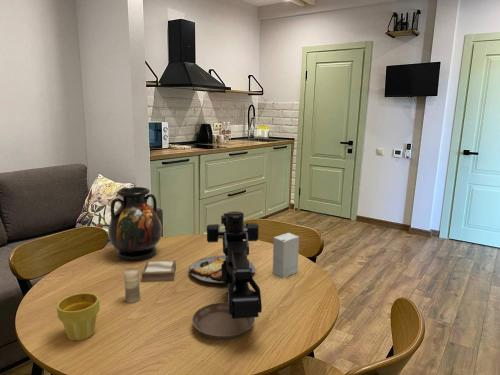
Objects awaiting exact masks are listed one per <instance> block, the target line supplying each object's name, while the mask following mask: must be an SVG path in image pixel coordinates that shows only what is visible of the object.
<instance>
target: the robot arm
mask: <svg viewBox="0 0 500 375" xmlns="http://www.w3.org/2000/svg"><path fill="white" fill-rule="evenodd" d="M244 215H245V214H244V212H242V211H228V212H225V213H223V215H221V216H220V223H221V225H223V226H224V231H220V230H221V229H220V228H221V226H220V224H217V223H216V224H207V226H206V241H207V243H218V242H219V239H222V253H223V254H224V255H225V256H226V257H225V259H226V260H223V264H222V265H221V269H222V281H223V282H224V283H223V284H224V285H225V284H227V283H228V284H227V291H226V292H225V294H226V295H225V296H226V303H228V304H229V314H231V315H232V318H233V319H237V318H259V317H260V316H259V315H260V313H262V308H263V306H262V296H261V295H262V294H261V289H260V287H259V286H258V284H257V283H256V281H255V279H254V276H253V273H252V268H249V261H250V260H249V259H248V256H249V255H250V243H249V242H257V241H258V240H259V230H260V229H259V225H258V224H257V223H245V224H244V220H245V218H244V217H245V216H244ZM249 285H250V286H251V288H252V289H253V290H252V289H250V287H249Z"/></svg>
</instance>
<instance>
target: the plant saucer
mask: <svg viewBox="0 0 500 375" xmlns="http://www.w3.org/2000/svg"><path fill="white" fill-rule="evenodd" d="M255 318H256V317H255ZM255 318H237V319H233V318H232V315H231V314H229V304H228V302H215V303H211V304H207V305H205V306H203V307H200V308H199V309H197V311H196V312H195V313H194V314H193V315H192V319H191V320H192V325H193V327H194V328H195V330H197V332H199V334H201V335H202V336H203V337H205V338H208V339H209V340H212V341H217V342H218V341H220V342H221V341H222V342H227V341H232V340H233V341H234V340H236V339H238V338H240V337H243V336H244V335H245V334H246V333H248V331H250V329H251V328H252V327H253V326H254V323H255V320H256V319H255Z"/></svg>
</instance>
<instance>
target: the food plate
mask: <svg viewBox="0 0 500 375" xmlns="http://www.w3.org/2000/svg"><path fill="white" fill-rule="evenodd" d="M225 257H226V256H225V254H224V255H222V254H221V255H213V256H206V257H203V258H201V259H199V260H197V261H195V262H194V263H192V264H191V265H189V268H188V274H190V276H191V277H193V278H195V279H197V280H199V281H201V282H204V283H215V284H224V282H223V281H222V269H221V265H222V264H223V260H226V259H225ZM249 268H252V274H253V273H255V272H256V267H255V266H254V263H252V262H251V261H250V260H249ZM226 284H227V285H228V283H226Z"/></svg>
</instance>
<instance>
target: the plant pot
mask: <svg viewBox="0 0 500 375" xmlns="http://www.w3.org/2000/svg"><path fill="white" fill-rule="evenodd" d="M99 312H100V297H99V296H98V294H95V293H92V292H77V293H73V294H70V295H68V296H65V297H64V298H62V299H61V300H59V301H58V302H57V305H56V314H57V318H58V320H59V321H61V322H62V325H63V327H64V330H65V333H66V335H67V338H68V339H69V340H70V339H72V340H71V341H73V340H80V341H83V340H82V339H84V340H87V339H88V337H89V338H90V337H92V336H93V335H94V333H95V331H96V330H95V329H96V323H97V315H98V314H99ZM92 334H93V335H92ZM91 335H92V336H91ZM86 338H87V339H86Z"/></svg>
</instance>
